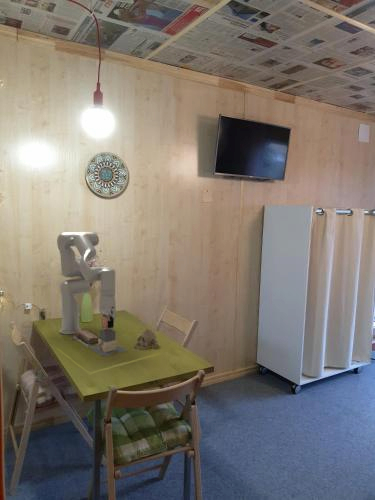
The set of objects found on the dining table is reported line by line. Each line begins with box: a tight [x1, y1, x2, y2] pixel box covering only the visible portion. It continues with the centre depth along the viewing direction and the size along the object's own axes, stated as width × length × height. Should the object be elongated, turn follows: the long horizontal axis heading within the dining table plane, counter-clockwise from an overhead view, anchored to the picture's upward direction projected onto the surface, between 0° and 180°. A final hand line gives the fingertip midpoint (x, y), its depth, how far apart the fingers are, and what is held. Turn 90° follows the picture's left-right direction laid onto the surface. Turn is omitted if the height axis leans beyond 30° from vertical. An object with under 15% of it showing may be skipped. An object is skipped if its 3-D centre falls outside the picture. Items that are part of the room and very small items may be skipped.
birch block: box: [97, 338, 118, 352], centre depth 199 cm, size 7×7×5 cm
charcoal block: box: [99, 328, 117, 342], centre depth 198 cm, size 6×6×5 cm
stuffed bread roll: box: [133, 328, 160, 351], centre depth 206 cm, size 14×11×10 cm
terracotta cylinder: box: [101, 315, 112, 329], centre depth 198 cm, size 6×6×6 cm
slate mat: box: [88, 344, 127, 357], centre depth 199 cm, size 16×14×1 cm
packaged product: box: [72, 329, 100, 347], centre depth 212 cm, size 18×5×10 cm
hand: (107, 325), depth 198 cm, fingers closed on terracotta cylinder, 5 cm apart
